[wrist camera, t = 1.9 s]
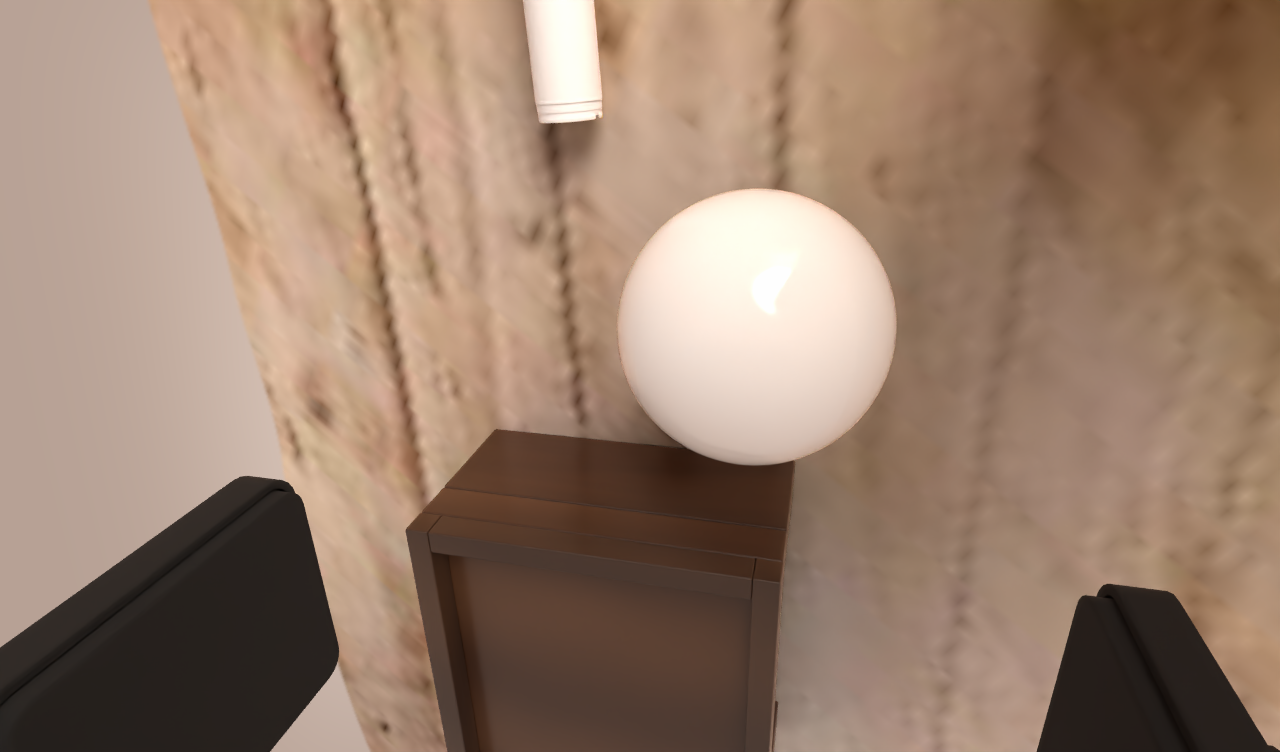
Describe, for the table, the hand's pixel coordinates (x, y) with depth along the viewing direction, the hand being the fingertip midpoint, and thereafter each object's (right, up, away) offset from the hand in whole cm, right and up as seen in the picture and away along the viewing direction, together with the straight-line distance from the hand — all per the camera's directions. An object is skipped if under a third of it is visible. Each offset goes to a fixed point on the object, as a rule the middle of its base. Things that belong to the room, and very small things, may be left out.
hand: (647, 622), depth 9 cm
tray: (0, -6, +22) cm, 23 cm away
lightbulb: (+4, +7, +15) cm, 18 cm away
